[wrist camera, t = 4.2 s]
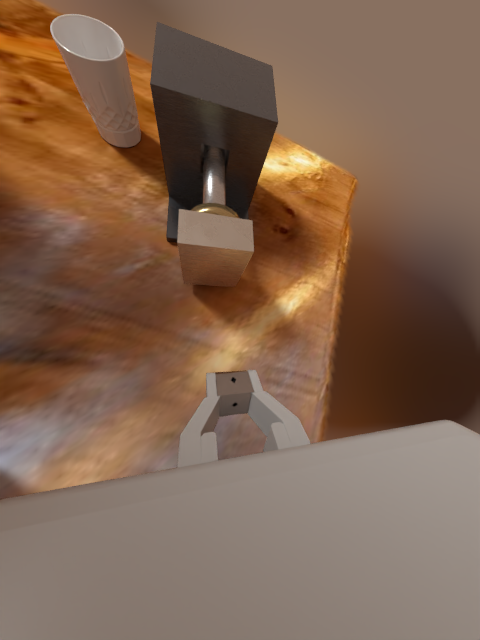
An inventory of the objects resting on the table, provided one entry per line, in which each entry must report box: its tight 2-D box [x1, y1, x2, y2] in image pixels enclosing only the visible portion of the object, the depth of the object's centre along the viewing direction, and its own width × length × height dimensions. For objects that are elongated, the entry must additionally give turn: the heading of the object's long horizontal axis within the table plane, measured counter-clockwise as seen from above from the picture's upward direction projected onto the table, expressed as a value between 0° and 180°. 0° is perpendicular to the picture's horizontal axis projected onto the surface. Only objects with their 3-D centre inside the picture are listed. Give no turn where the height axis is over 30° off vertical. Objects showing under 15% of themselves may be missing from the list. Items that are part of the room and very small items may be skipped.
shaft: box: [177, 144, 254, 287], centre depth 26 cm, size 22×8×10 cm, turn 2°
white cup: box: [50, 14, 141, 148], centre depth 27 cm, size 8×8×10 cm
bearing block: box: [150, 22, 278, 242], centre depth 26 cm, size 19×14×14 cm
